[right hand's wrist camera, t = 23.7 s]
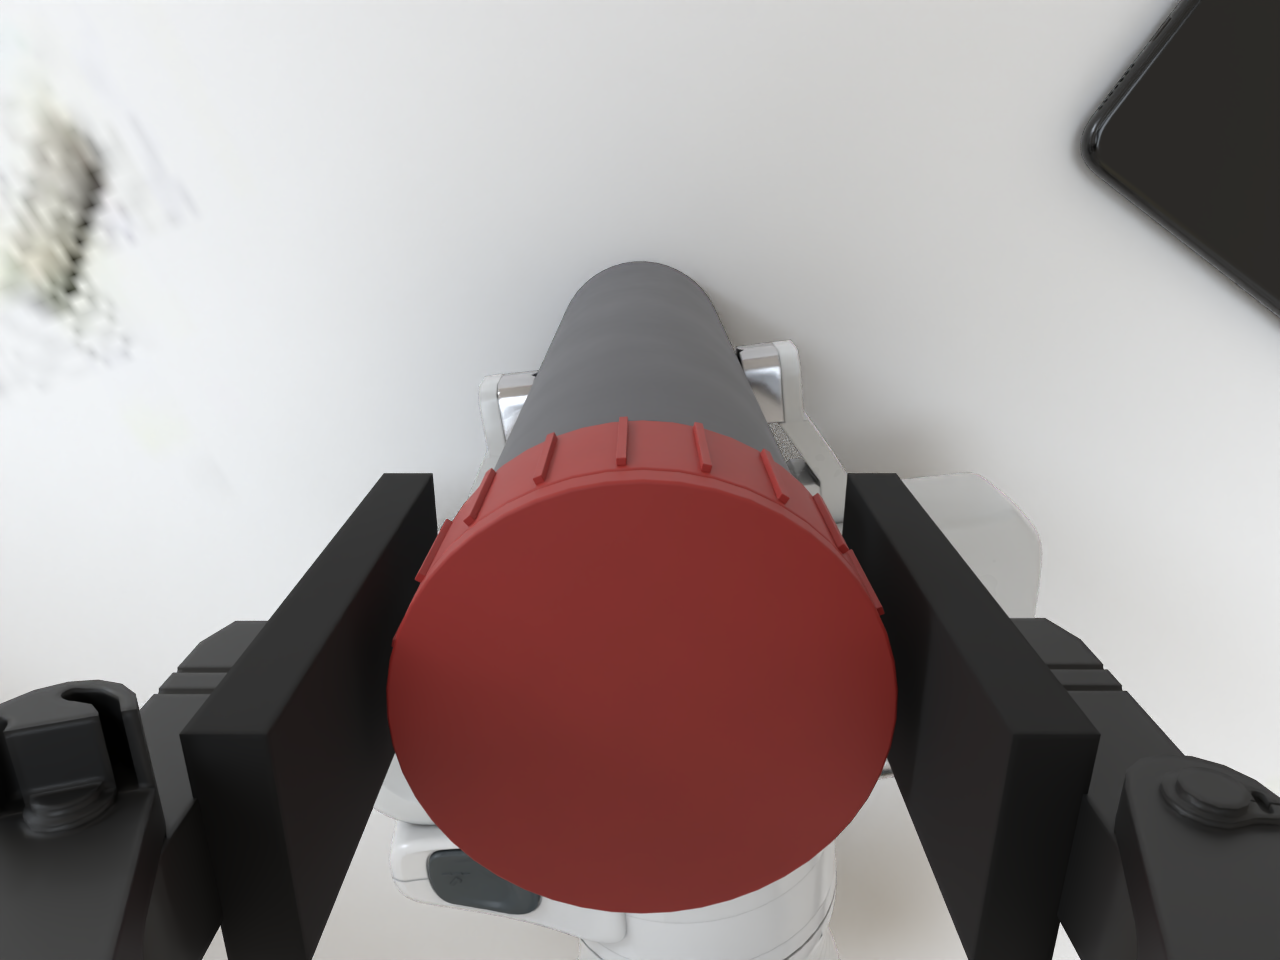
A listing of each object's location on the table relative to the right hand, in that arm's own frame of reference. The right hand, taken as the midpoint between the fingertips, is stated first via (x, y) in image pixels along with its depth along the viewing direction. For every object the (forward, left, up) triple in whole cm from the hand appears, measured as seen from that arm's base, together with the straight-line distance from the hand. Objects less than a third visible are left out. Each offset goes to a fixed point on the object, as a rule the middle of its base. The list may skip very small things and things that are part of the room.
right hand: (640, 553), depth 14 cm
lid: (0, 0, +4) cm, 4 cm away
